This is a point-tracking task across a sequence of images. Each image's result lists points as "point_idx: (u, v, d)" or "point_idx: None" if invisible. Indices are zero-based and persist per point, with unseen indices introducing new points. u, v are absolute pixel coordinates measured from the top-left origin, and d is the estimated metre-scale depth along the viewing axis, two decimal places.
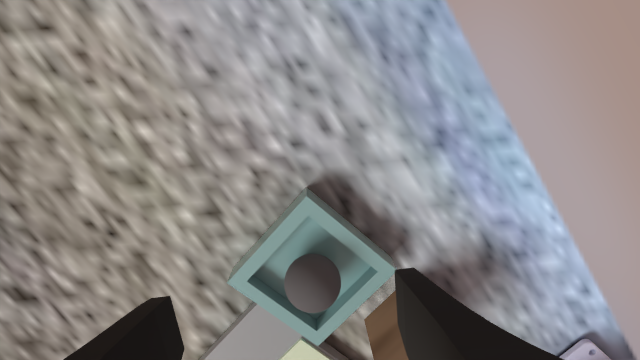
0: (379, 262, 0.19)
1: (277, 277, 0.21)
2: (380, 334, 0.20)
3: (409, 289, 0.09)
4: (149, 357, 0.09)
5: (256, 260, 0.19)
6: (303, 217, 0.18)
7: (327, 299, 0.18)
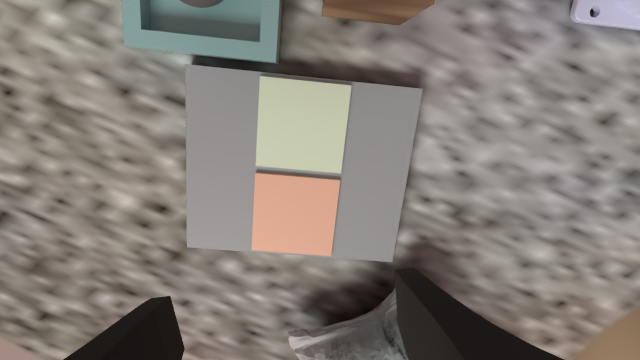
0: None
1: (182, 18, 0.16)
2: None
3: (409, 289, 0.09)
4: (149, 357, 0.09)
5: None
6: None
7: None
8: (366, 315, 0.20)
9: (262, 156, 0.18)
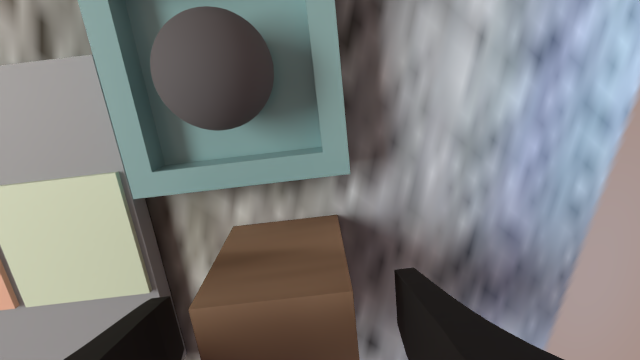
0: (338, 138, 0.10)
1: None
2: (245, 250, 0.11)
3: (409, 289, 0.09)
4: (149, 357, 0.09)
5: None
6: None
7: (222, 93, 0.08)
8: None
9: None
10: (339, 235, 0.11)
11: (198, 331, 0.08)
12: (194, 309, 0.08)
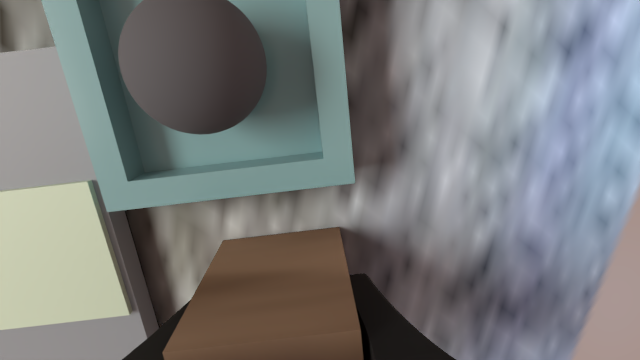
0: (341, 143, 0.09)
1: None
2: (235, 271, 0.09)
3: None
4: None
5: None
6: None
7: (203, 91, 0.07)
8: None
9: None
10: (342, 253, 0.10)
11: None
12: (169, 352, 0.07)
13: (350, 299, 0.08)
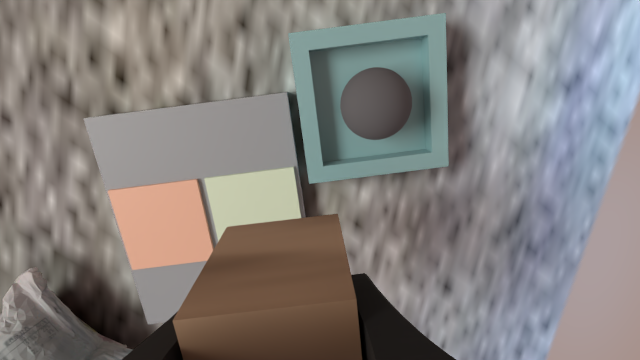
0: (442, 143, 0.16)
1: (328, 83, 0.16)
2: (238, 253, 0.10)
3: None
4: None
5: (339, 35, 0.15)
6: (422, 32, 0.15)
7: (393, 119, 0.14)
8: (92, 333, 0.19)
9: (216, 183, 0.17)
10: (340, 236, 0.10)
11: (184, 344, 0.07)
12: (179, 320, 0.07)
13: (347, 274, 0.08)
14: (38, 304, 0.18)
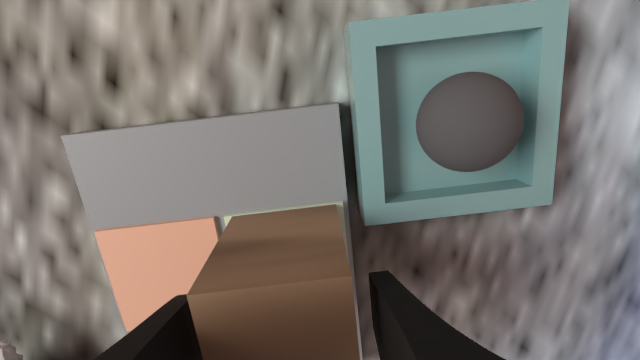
0: (547, 175, 0.12)
1: (394, 91, 0.12)
2: (244, 239, 0.11)
3: (379, 293, 0.09)
4: (179, 353, 0.09)
5: (419, 26, 0.11)
6: (535, 24, 0.11)
7: (503, 147, 0.10)
8: None
9: None
10: (338, 223, 0.11)
11: (196, 317, 0.08)
12: (192, 295, 0.08)
13: (344, 255, 0.09)
14: None
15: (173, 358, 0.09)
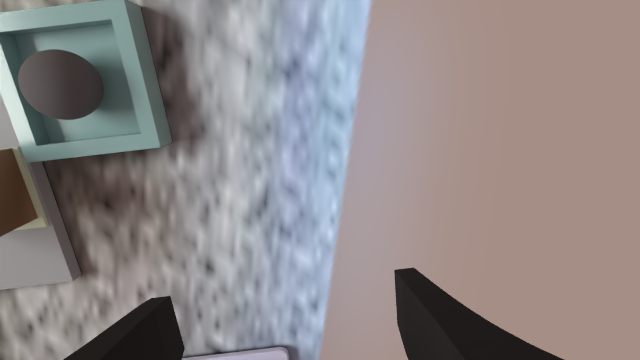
0: (149, 125, 0.17)
1: None
2: None
3: (409, 289, 0.09)
4: (149, 357, 0.09)
5: (23, 18, 0.16)
6: (105, 17, 0.16)
7: (55, 99, 0.15)
8: None
9: None
10: None
11: None
12: None
13: None
14: None
15: None
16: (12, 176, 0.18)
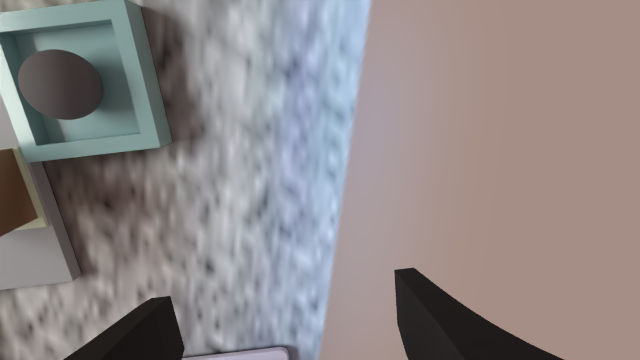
0: (149, 125, 0.17)
1: None
2: None
3: (409, 289, 0.09)
4: (149, 357, 0.09)
5: (23, 18, 0.16)
6: (105, 17, 0.16)
7: (55, 99, 0.15)
8: None
9: None
10: None
11: None
12: None
13: None
14: None
15: None
16: (12, 176, 0.18)
